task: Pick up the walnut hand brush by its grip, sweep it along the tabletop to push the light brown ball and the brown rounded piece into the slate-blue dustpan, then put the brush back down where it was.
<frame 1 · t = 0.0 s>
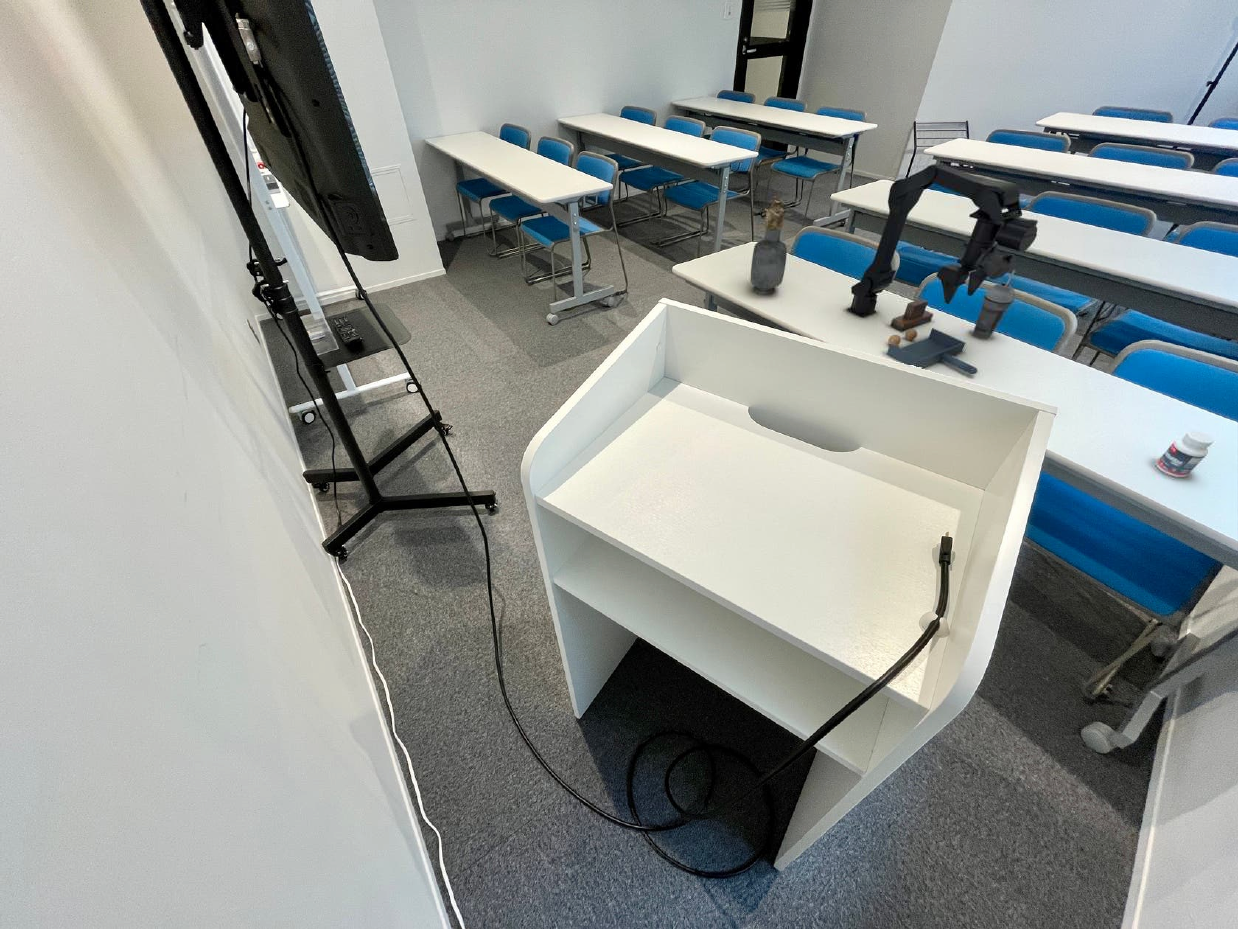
hand: (958, 299, 142), 15 cm above the table, tool pointing down, fingers open, 9 cm apart
brush: (910, 323, 164), on the table
brown rounded piece 2: (911, 334, 155), point 2 cm above the table
pill bottle: (1170, 470, 111), on the table
grey tall bottle-shaped piece: (763, 288, 187), on the table
beverage cup: (981, 336, 157), on the table
light brown ball 1: (894, 340, 153), point 2 cm above the table
dustpan: (923, 353, 150), on the table
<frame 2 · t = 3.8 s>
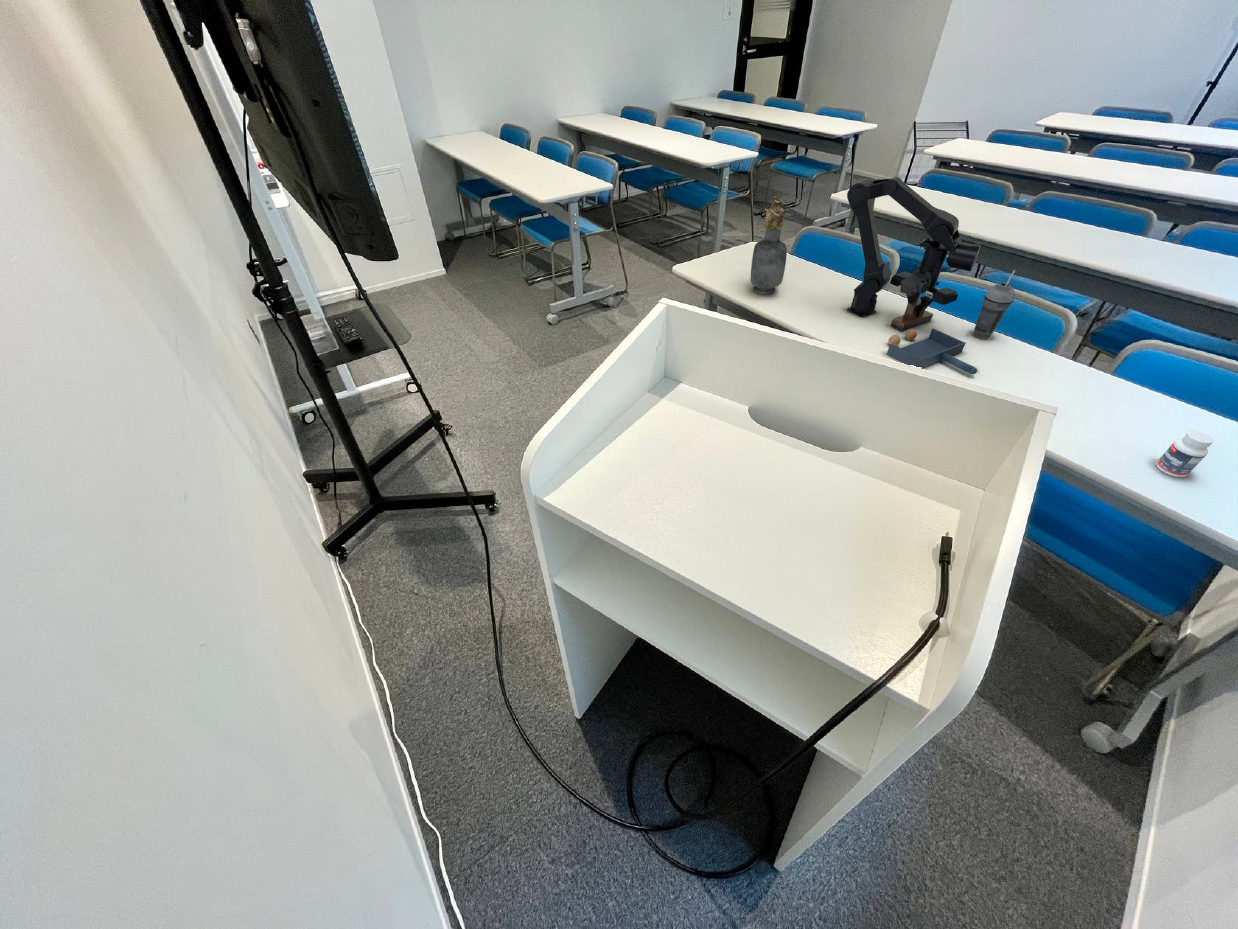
hand: (913, 314, 162), 3 cm above the table, tool pointing down, fingers closed on brush, 2 cm apart
brush: (910, 323, 164), on the table, touching gripper
everything else where it was.
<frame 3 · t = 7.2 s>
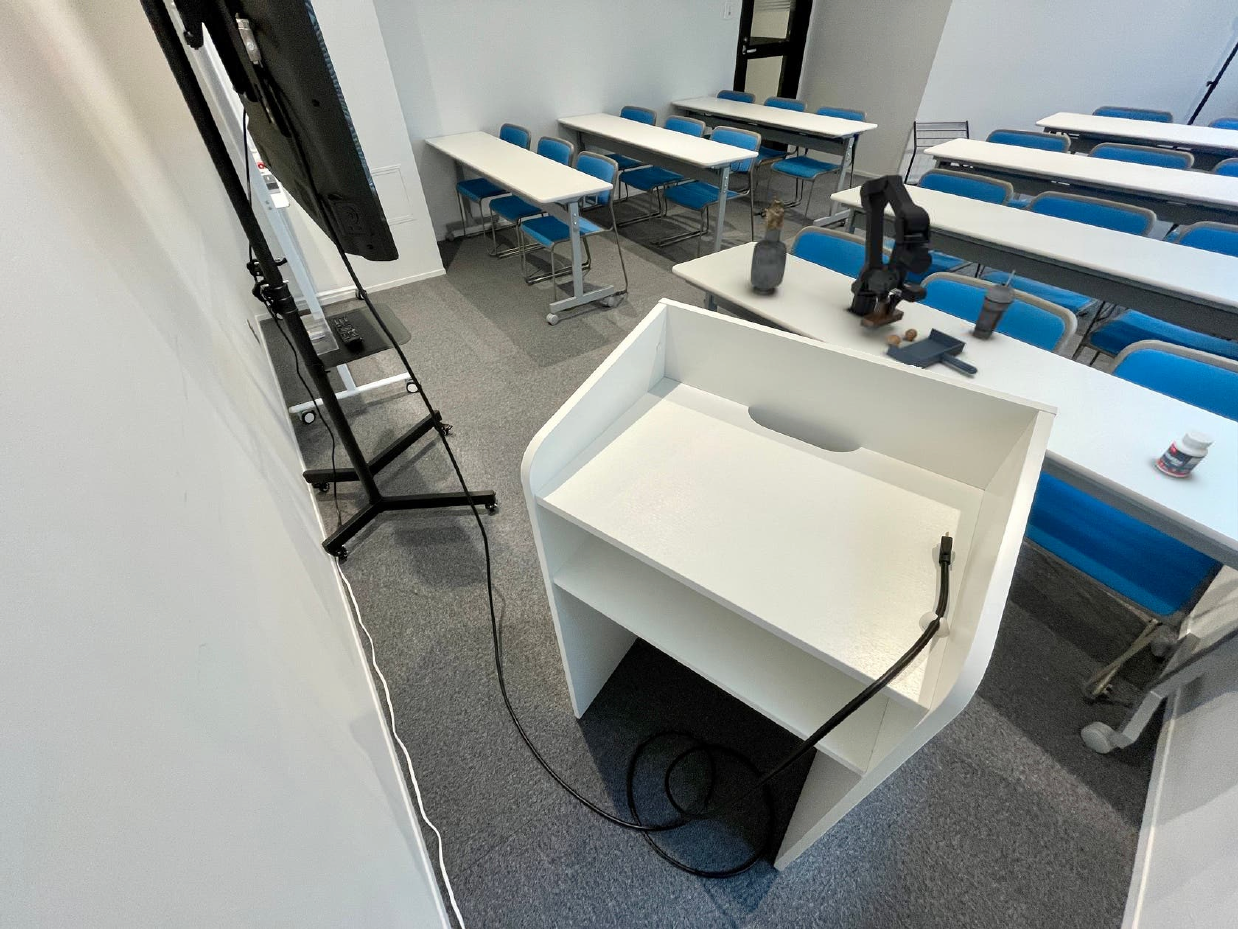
hand: (883, 312, 157), 6 cm above the table, tool pointing down, fingers closed on brush, 2 cm apart
brush: (880, 322, 159), point 3 cm above the table, touching gripper
everything else where it was.
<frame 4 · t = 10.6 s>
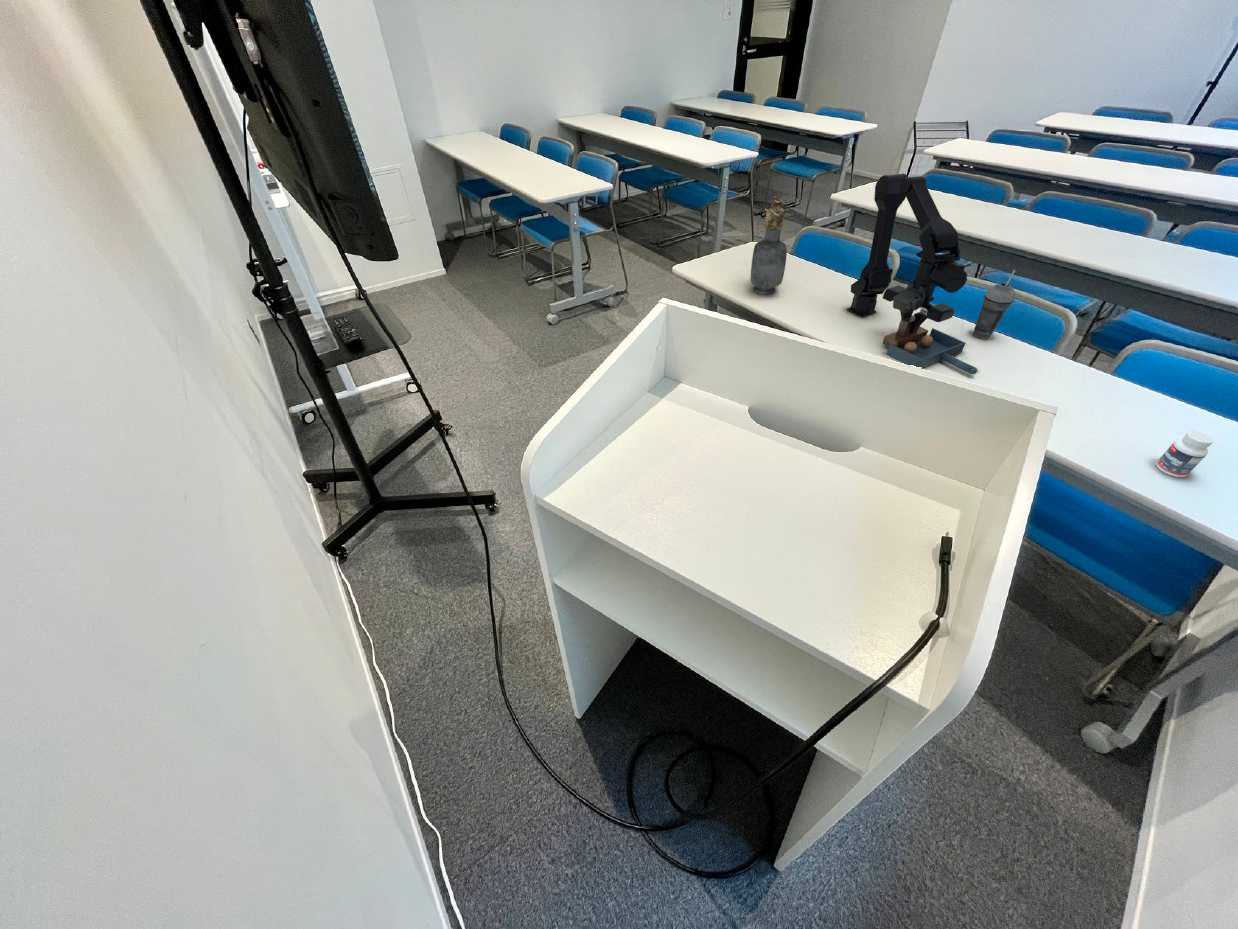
hand: (907, 331, 152), 4 cm above the table, tool pointing down, fingers closed on brush, 2 cm apart
brush: (904, 340, 154), point 1 cm above the table, touching gripper
brown rounded piece 2: (926, 340, 152), point 2 cm above the table, tilted 170°, touching dustpan
light brown ball 1: (910, 347, 149), point 2 cm above the table, tilted 167°, touching dustpan
everything else where it was.
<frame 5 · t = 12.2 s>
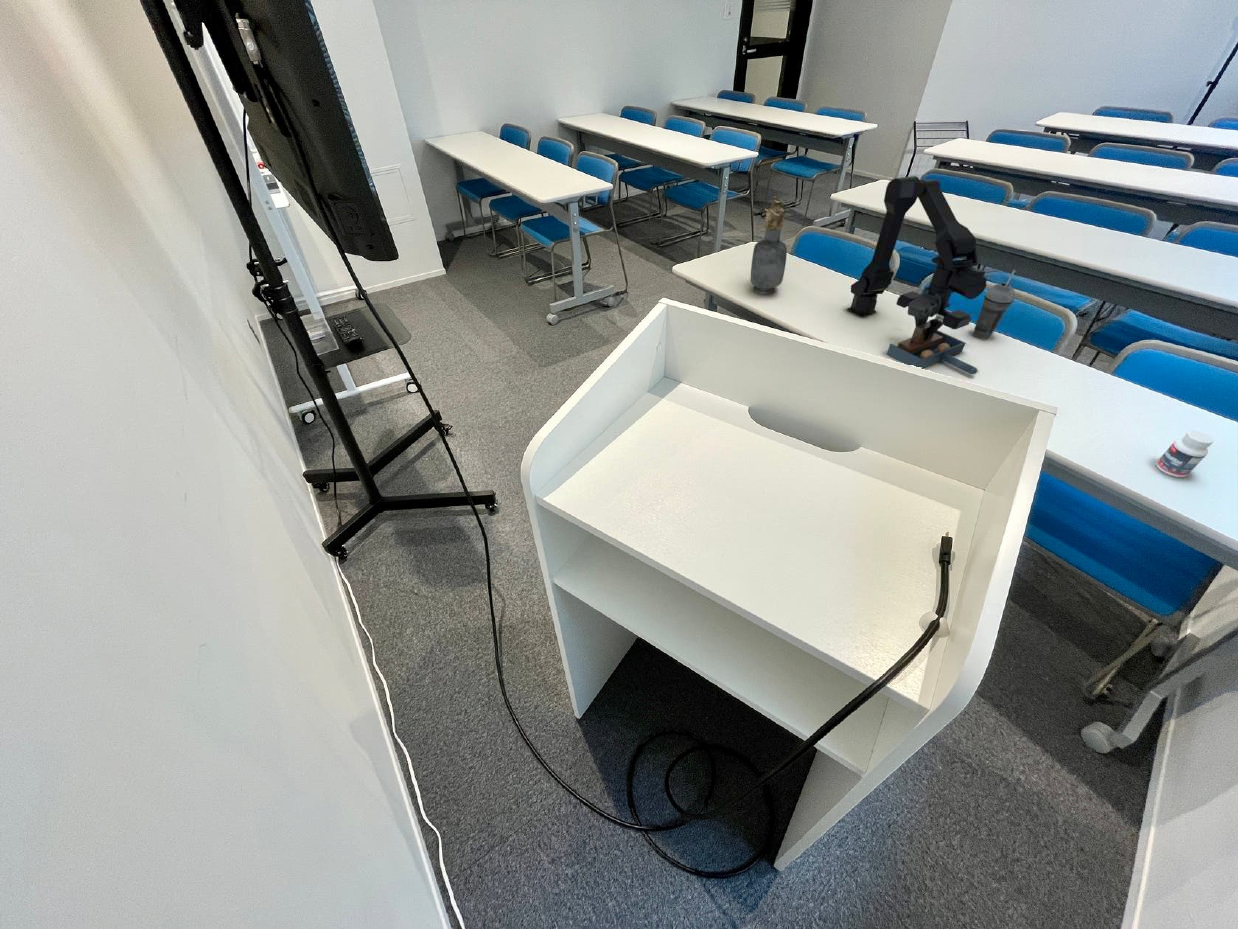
hand: (921, 338, 149), 4 cm above the table, tool pointing down, fingers closed on brush, 2 cm apart
brush: (918, 347, 151), point 1 cm above the table, touching gripper
brown rounded piece 2: (943, 348, 148), point 2 cm above the table, tilted 23°, touching dustpan
light brown ball 1: (926, 355, 146), point 2 cm above the table, tilted 26°, touching dustpan
everything else where it was.
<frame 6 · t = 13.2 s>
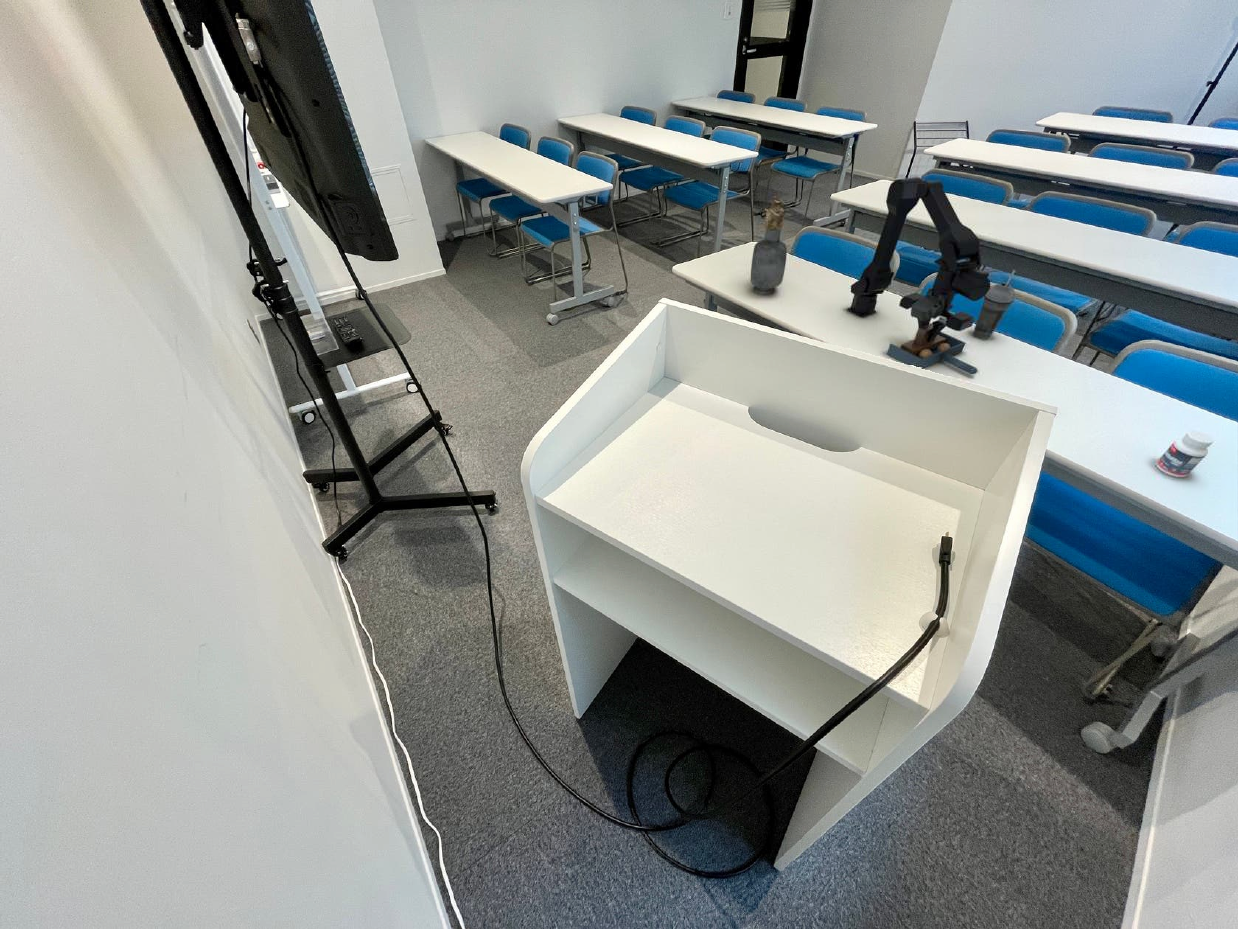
hand: (924, 339, 148), 4 cm above the table, tool pointing down, fingers closed on brush, 2 cm apart
brush: (920, 349, 150), point 1 cm above the table, touching gripper
brown rounded piece 2: (943, 349, 148), point 2 cm above the table, tilted 28°, touching dustpan
light brown ball 1: (925, 354, 146), point 2 cm above the table, tilted 11°, touching dustpan
everything else where it was.
when the fingers open (3 cm above the table, at t = 18.1 s): brush stays where it is, on the table.
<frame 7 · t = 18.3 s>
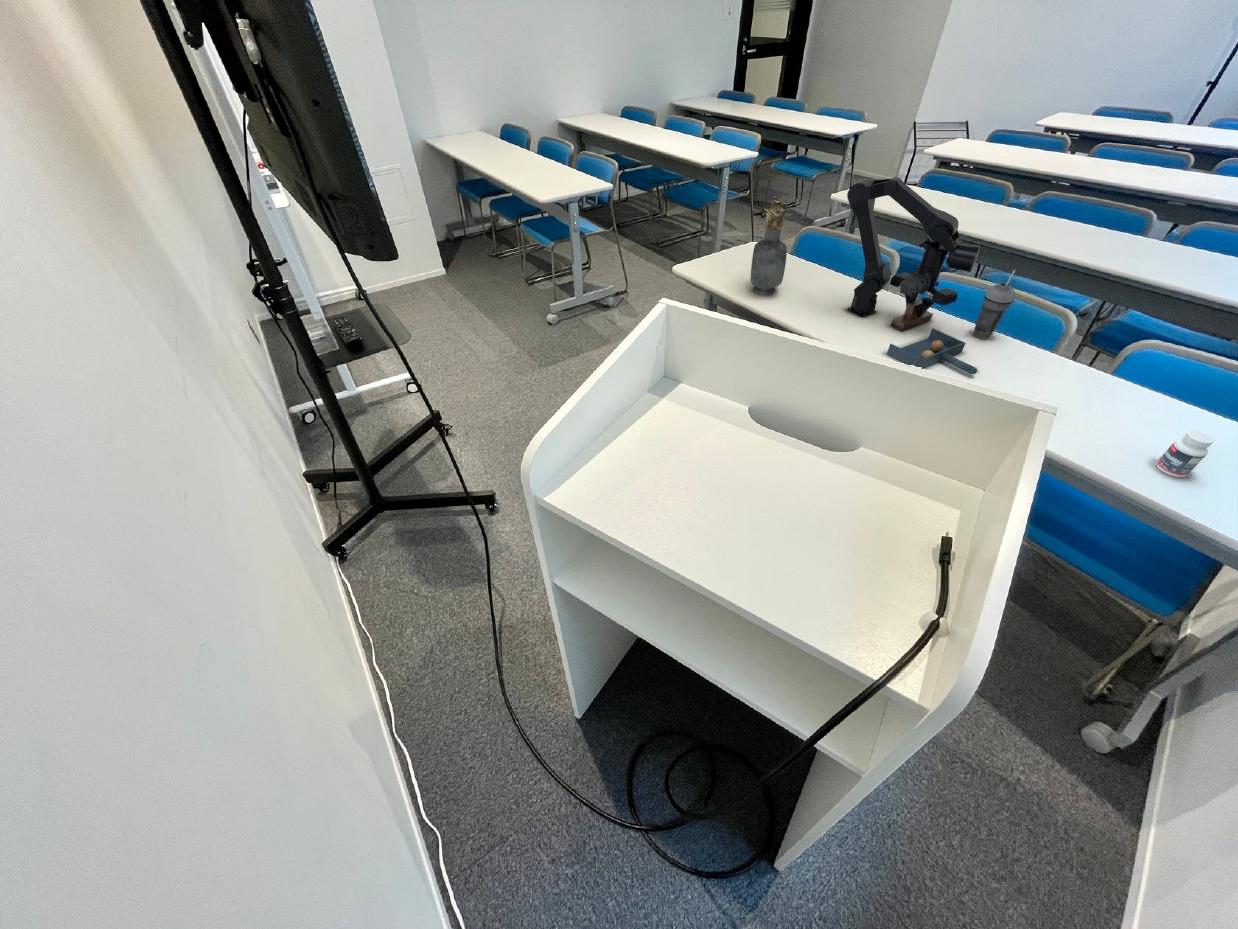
hand: (913, 315, 162), 3 cm above the table, tool pointing down, fingers open, 3 cm apart
brush: (910, 323, 164), on the table
brown rounded piece 2: (936, 345, 149), point 2 cm above the table, tilted 52°, touching dustpan
light brown ball 1: (927, 355, 145), point 2 cm above the table, tilted 32°, touching dustpan
everything else where it was.
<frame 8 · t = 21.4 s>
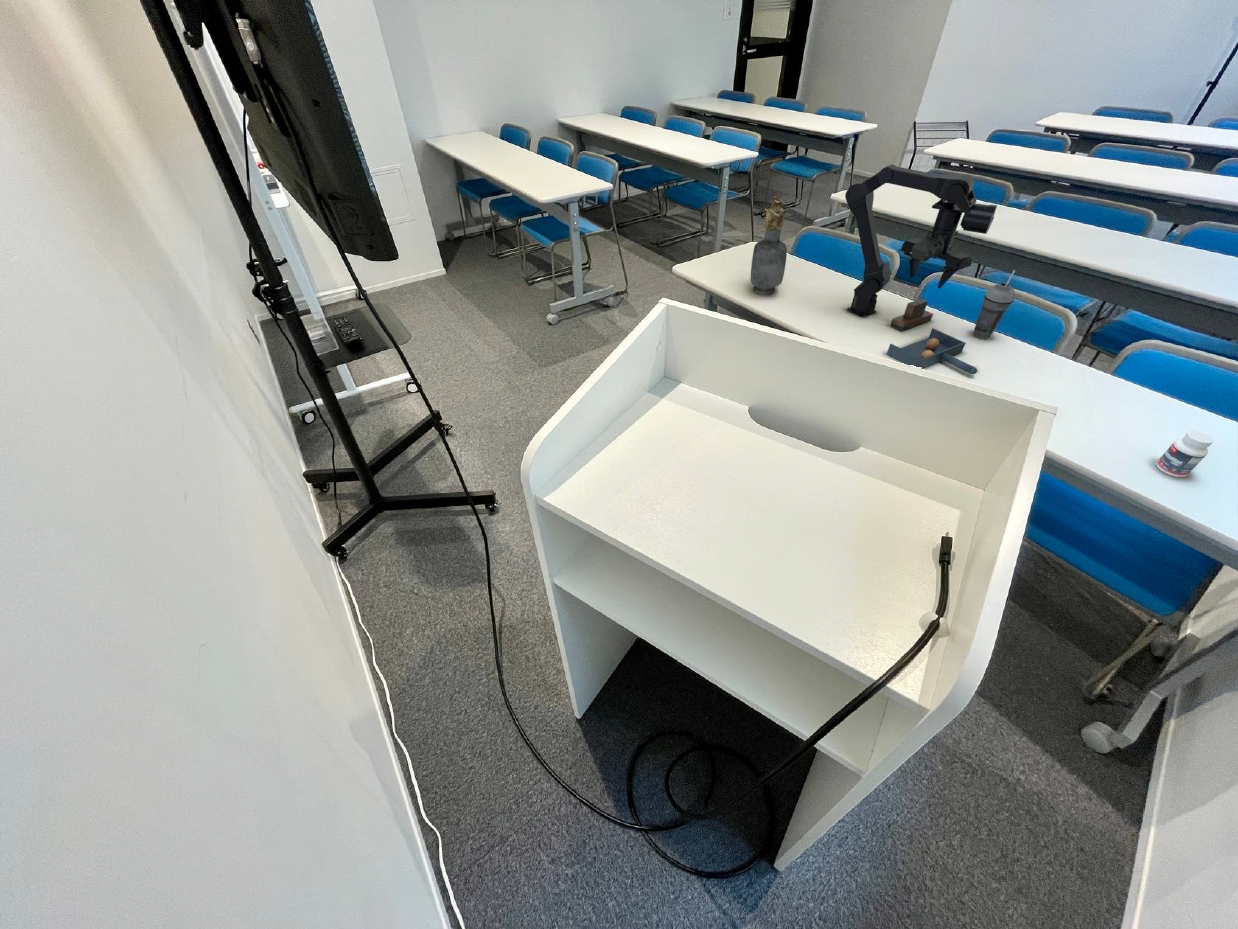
hand: (925, 282, 155), 13 cm above the table, tool pointing down, fingers open, 9 cm apart
brown rounded piece 2: (932, 343, 150), point 2 cm above the table, tilted 101°, touching dustpan
everything else where it was.
at the end: light brown ball 1 inside the target area in the dustpan (4.9 cm from its centre), point 1.8 cm above the dustpan's base; brown rounded piece 2 inside the target area in the dustpan (3.5 cm from its centre), point 1.8 cm above the dustpan's base; brush inside the target area (0.1 cm from its centre), on the table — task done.
